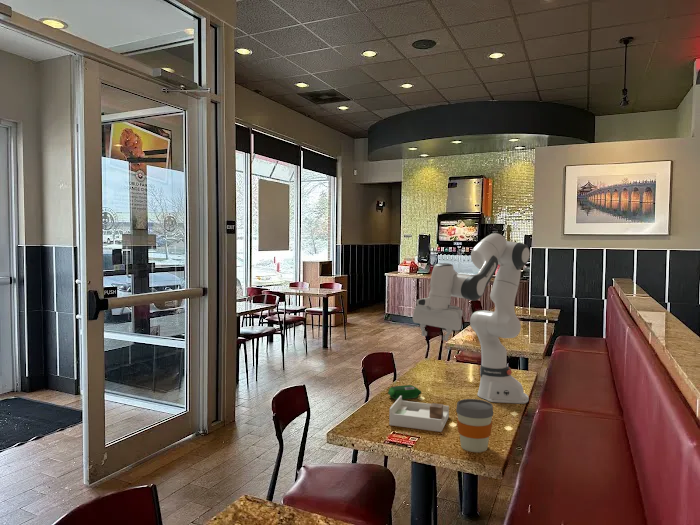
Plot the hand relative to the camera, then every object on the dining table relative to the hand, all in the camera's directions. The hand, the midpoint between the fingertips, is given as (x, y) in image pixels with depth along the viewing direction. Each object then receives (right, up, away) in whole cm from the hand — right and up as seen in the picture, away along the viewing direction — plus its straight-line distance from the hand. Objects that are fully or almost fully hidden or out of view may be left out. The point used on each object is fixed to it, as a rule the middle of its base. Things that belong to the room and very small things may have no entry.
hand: (434, 338), depth 203 cm
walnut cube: (0, -31, -2) cm, 31 cm away
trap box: (-6, -33, 0) cm, 33 cm away
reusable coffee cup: (+10, -34, -25) cm, 44 cm away
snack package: (-9, -32, +30) cm, 45 cm away
